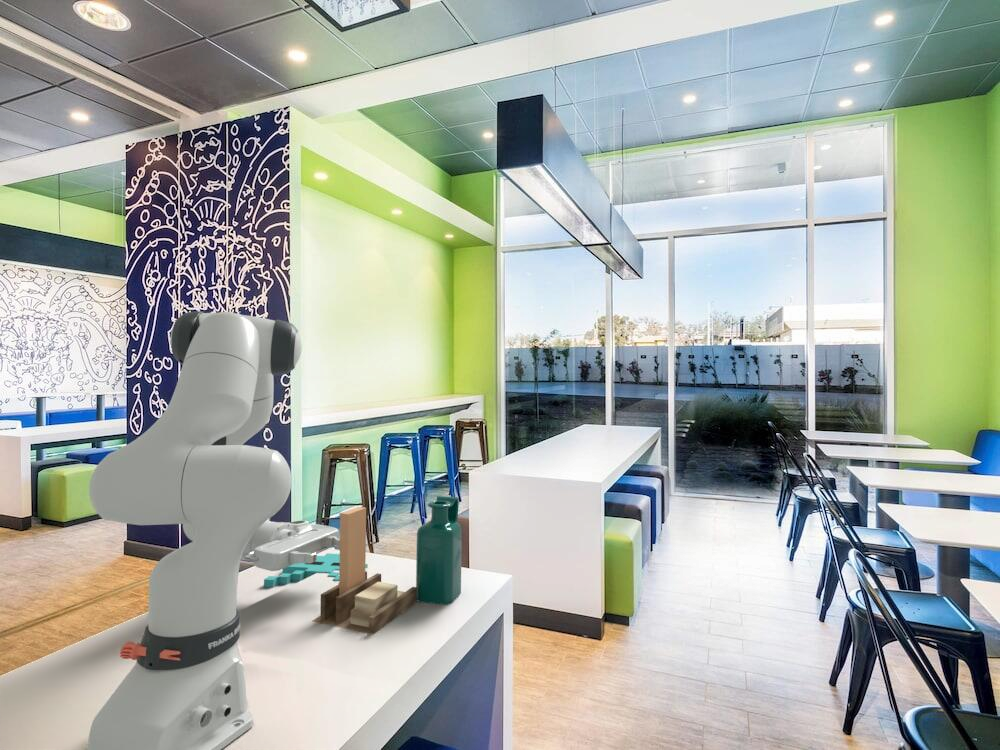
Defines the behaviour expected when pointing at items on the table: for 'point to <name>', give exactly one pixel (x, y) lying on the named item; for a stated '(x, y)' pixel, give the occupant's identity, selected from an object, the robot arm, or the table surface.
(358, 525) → the panel
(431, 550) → the pitcher
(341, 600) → the rack
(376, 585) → the offcut stack
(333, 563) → the alien figure
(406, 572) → the table surface
